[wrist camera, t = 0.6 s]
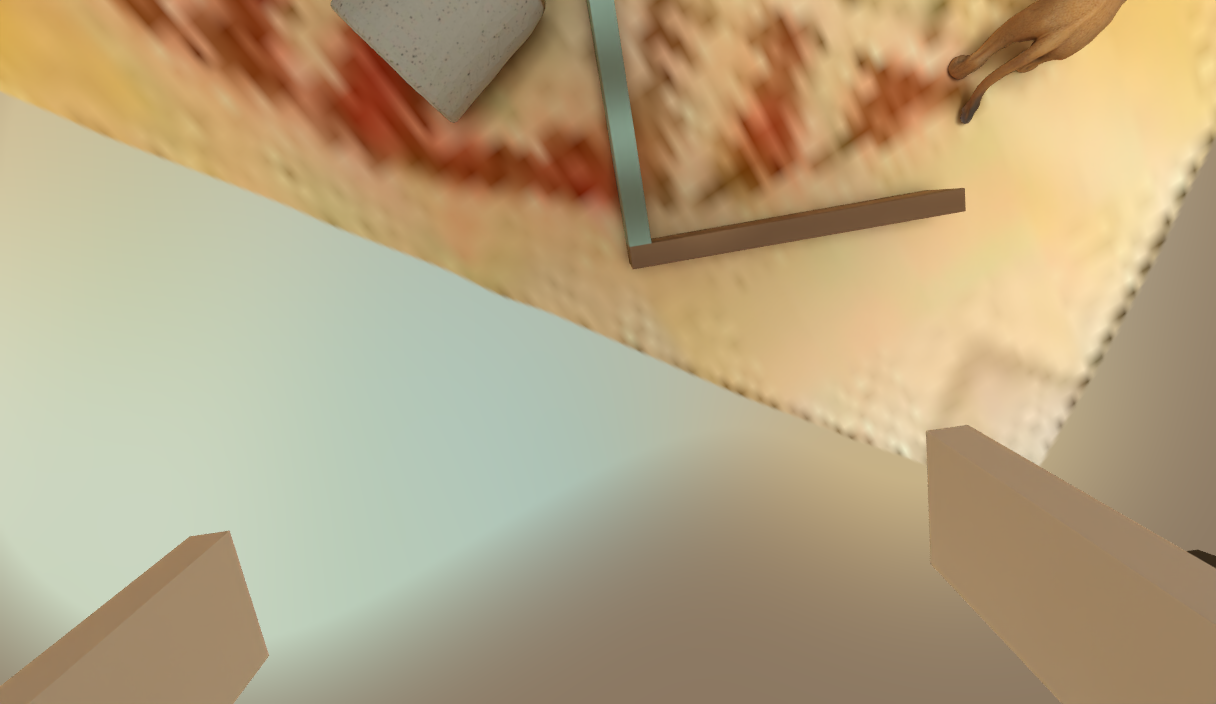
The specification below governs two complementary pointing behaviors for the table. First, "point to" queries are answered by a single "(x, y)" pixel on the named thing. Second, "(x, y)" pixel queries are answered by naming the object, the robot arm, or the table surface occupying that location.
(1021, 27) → the lion figurine
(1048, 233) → the table surface
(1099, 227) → the table surface
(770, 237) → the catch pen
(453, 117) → the ceramic mug
